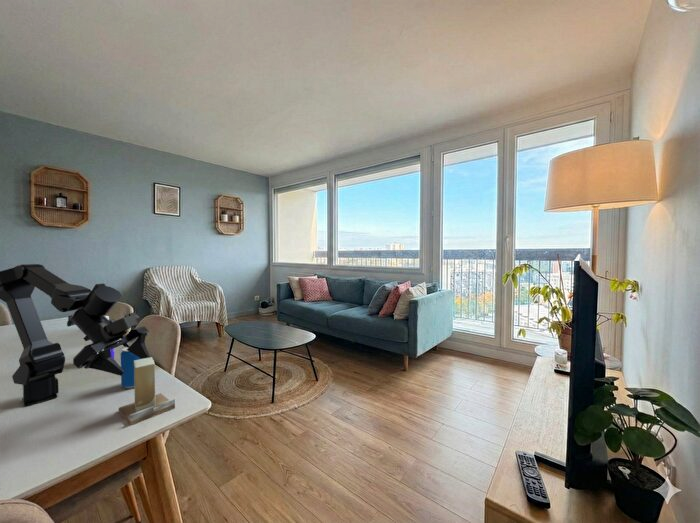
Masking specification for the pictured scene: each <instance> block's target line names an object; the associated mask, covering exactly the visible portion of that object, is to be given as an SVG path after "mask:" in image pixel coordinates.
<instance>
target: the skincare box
mask: <svg viewBox="0 0 700 523" xmlns="http://www.w3.org/2000/svg"><path fill="white" fill-rule="evenodd" d="M155 395H156V364H155V360H154V358H153V357H151V356H150V358H144V359H139V360H134V402H135V409H136V412H138V411H141V410H144V409H146V408H149V407H152V406H155V405H156V404H155Z"/></svg>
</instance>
